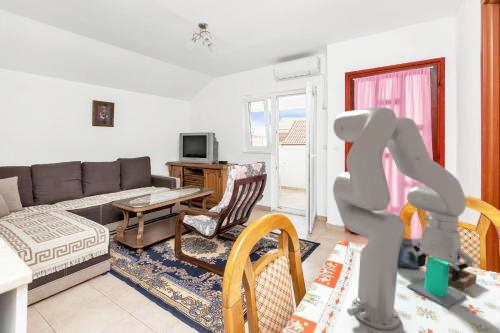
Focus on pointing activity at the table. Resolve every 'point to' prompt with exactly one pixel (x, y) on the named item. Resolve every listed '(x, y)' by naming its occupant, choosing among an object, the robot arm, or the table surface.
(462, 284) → the holder
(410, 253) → the small box
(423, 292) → the slate mat
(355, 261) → the table surface
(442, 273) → the candle
